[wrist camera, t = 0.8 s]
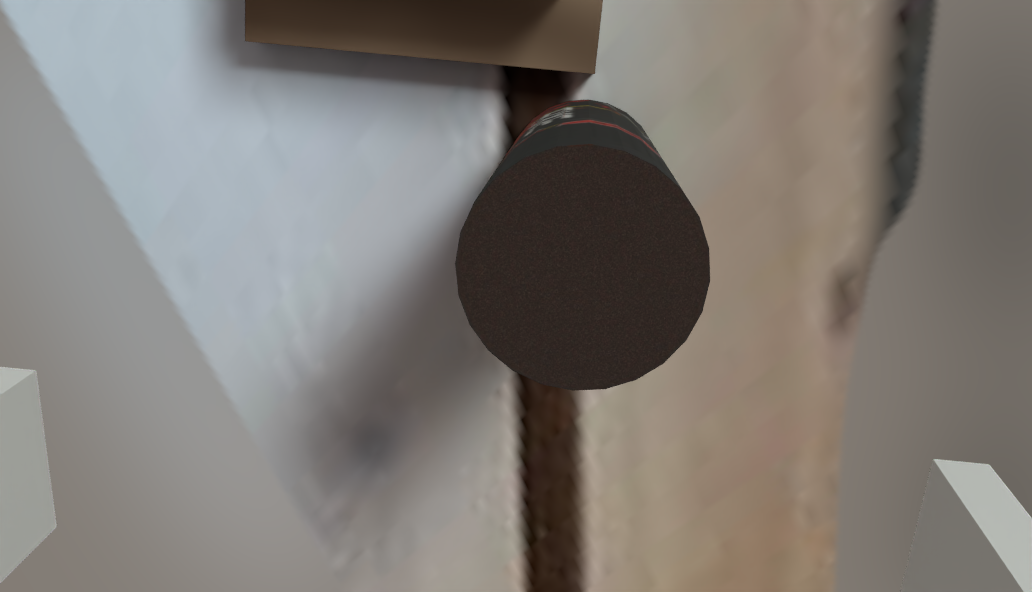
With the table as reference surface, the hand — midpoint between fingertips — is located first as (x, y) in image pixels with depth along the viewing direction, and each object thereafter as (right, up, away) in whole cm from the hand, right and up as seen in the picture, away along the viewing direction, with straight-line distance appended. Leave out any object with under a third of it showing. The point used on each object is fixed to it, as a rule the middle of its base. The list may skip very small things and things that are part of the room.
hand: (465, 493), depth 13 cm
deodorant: (+3, +8, +22) cm, 24 cm away
